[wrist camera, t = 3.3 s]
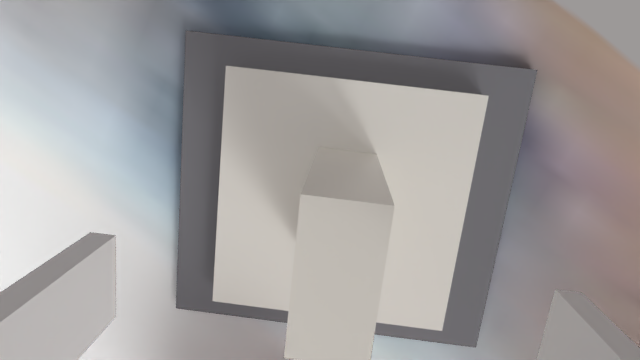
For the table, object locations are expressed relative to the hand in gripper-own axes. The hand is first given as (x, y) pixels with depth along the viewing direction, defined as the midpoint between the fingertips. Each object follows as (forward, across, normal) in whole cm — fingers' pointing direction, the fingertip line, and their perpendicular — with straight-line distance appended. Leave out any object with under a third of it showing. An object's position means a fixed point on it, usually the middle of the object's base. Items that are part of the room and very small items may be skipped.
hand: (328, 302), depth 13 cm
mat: (+12, 0, 0) cm, 12 cm away
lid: (+12, 0, 0) cm, 12 cm away
